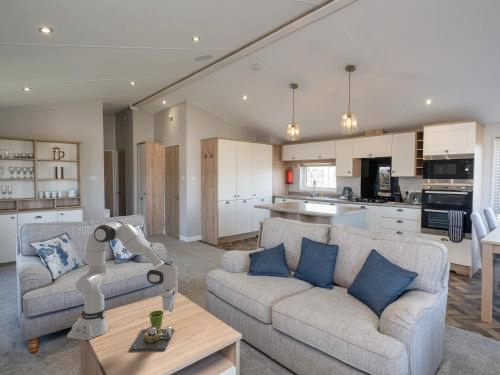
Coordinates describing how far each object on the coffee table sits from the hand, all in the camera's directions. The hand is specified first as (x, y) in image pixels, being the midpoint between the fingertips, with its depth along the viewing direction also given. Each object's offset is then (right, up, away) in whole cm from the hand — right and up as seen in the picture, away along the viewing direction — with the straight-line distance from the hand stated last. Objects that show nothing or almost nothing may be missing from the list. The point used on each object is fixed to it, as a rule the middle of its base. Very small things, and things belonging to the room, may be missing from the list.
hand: (171, 310), depth 178 cm
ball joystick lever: (-7, -14, -4) cm, 16 cm away
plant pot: (-13, -16, +12) cm, 23 cm away
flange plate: (-10, -16, -4) cm, 19 cm away
